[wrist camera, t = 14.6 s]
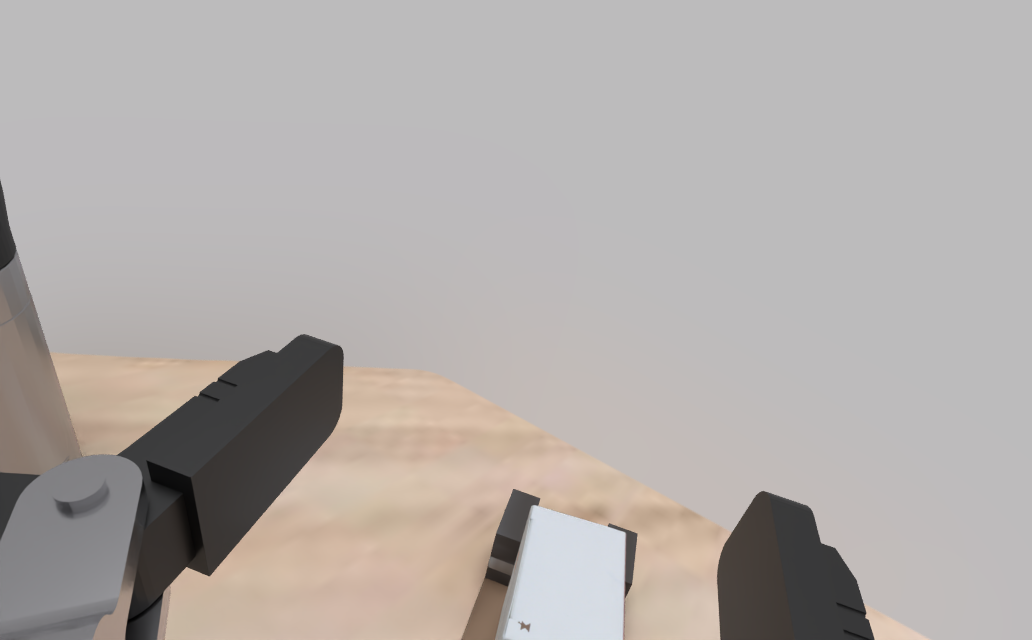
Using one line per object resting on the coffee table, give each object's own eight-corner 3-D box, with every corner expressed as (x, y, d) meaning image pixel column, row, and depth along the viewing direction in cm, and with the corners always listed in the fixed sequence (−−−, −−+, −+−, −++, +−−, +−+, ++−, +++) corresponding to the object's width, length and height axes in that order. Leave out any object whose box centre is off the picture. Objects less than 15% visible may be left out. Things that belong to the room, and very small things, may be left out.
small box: (569, 781, 28) (626, 681, 23) (467, 747, 29) (500, 640, 23) (583, 633, 35) (629, 529, 30) (501, 607, 36) (532, 500, 30)
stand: (423, 743, 30) (435, 689, 27) (500, 540, 41) (514, 486, 38) (581, 814, 28) (612, 766, 25) (613, 583, 40) (637, 531, 37)
